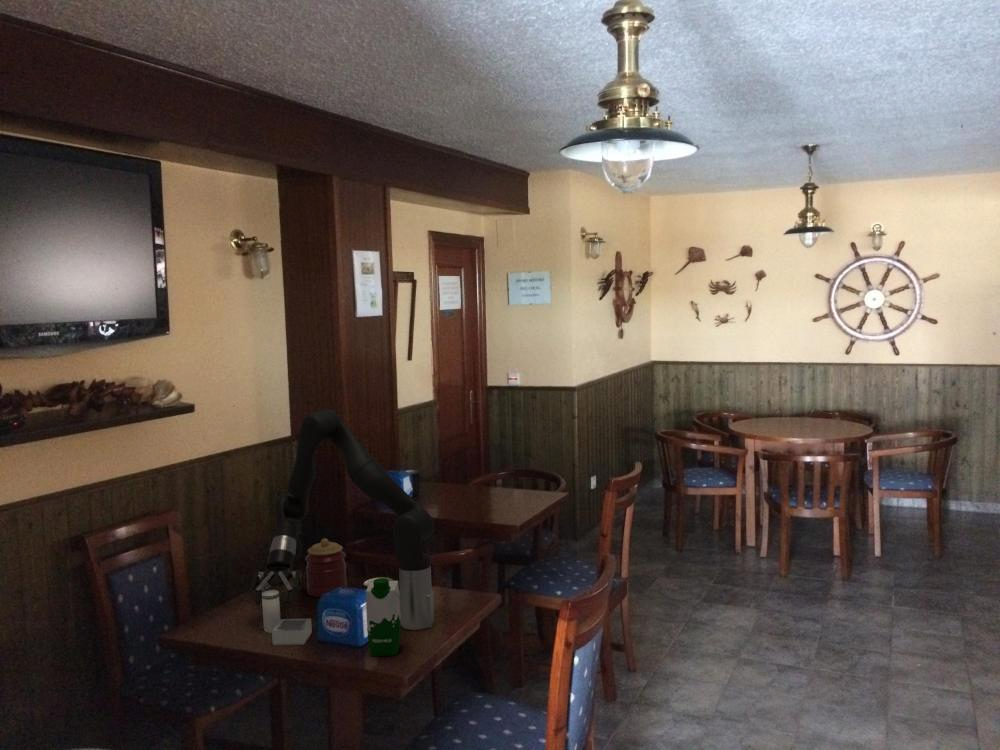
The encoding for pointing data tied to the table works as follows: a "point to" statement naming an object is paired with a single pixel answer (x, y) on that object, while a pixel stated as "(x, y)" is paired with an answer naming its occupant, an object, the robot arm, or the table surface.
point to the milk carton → (383, 617)
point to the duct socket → (291, 632)
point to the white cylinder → (270, 609)
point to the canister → (325, 568)
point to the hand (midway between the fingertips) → (272, 604)
